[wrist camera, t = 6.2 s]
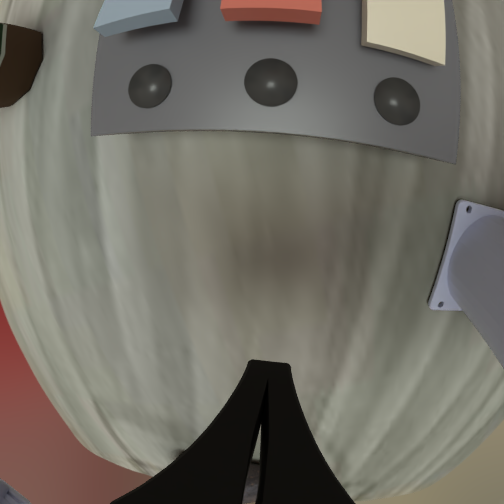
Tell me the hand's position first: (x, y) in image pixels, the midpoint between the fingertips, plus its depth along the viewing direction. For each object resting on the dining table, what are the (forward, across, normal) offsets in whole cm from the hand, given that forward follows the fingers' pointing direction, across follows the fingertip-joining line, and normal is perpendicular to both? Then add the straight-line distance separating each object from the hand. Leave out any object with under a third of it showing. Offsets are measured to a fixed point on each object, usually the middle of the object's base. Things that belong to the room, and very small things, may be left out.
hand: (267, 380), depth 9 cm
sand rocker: (+5, -4, -16) cm, 17 cm away
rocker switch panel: (+9, +1, -14) cm, 17 cm away
